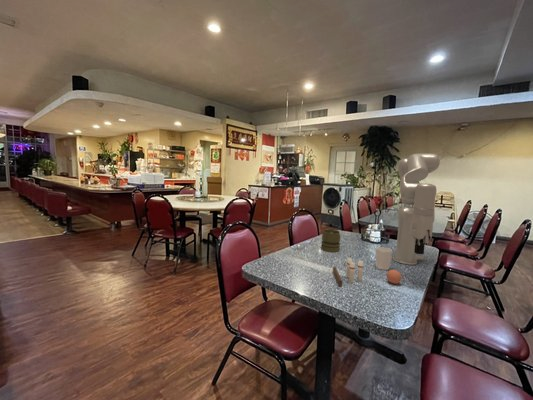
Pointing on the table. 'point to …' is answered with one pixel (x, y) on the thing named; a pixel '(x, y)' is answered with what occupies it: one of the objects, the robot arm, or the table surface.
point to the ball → (394, 276)
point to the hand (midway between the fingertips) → (418, 253)
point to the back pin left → (351, 272)
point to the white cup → (383, 258)
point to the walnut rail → (337, 276)
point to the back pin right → (348, 267)
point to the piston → (331, 241)
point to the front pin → (360, 271)
